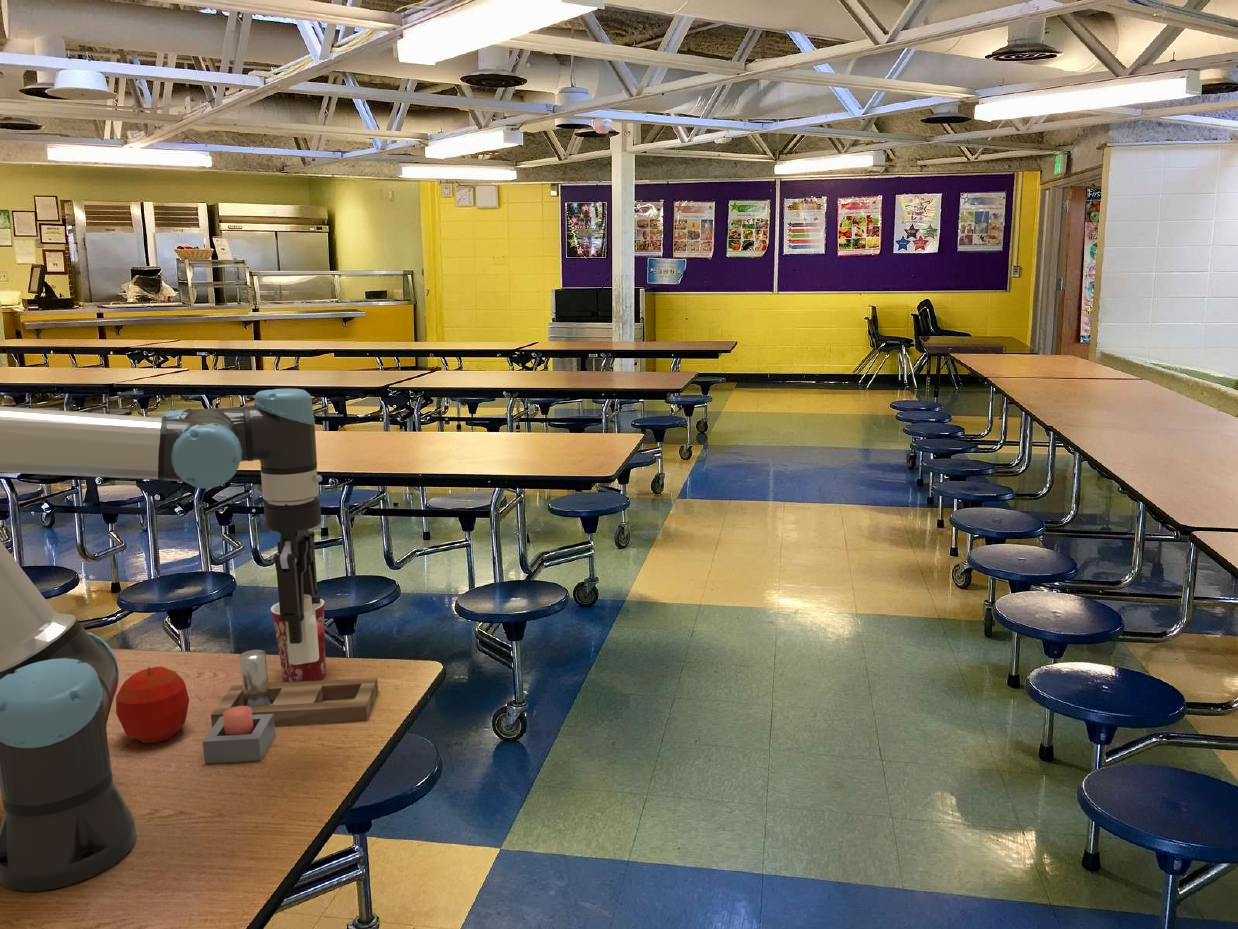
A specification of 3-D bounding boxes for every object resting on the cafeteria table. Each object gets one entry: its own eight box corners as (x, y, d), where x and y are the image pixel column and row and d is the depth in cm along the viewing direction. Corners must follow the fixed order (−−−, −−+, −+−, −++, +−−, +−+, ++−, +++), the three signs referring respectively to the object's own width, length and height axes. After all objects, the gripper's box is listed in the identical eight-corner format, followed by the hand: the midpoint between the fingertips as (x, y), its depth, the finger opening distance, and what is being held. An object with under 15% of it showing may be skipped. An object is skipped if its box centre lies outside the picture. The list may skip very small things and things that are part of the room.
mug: (269, 676, 169) (262, 604, 166) (318, 662, 175) (312, 593, 172) (297, 699, 159) (290, 623, 157) (347, 684, 165) (341, 610, 162)
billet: (267, 716, 153) (261, 658, 151) (241, 718, 153) (235, 660, 151) (273, 705, 157) (268, 649, 155) (249, 707, 157) (243, 650, 155)
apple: (167, 715, 154) (159, 649, 152) (206, 729, 149) (198, 661, 147) (107, 742, 146) (97, 672, 144) (146, 757, 141) (137, 685, 138)
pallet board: (367, 720, 151) (365, 706, 151) (212, 729, 149) (210, 714, 149) (378, 691, 162) (377, 677, 161) (234, 699, 160) (232, 685, 159)
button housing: (261, 760, 139) (258, 738, 139) (205, 763, 139) (202, 741, 138) (275, 734, 147) (273, 713, 146) (222, 737, 146) (220, 716, 146)
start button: (250, 748, 141) (247, 717, 140) (222, 750, 141) (219, 718, 140) (258, 735, 145) (254, 705, 144) (231, 737, 144) (227, 706, 143)
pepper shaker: (290, 667, 135) (285, 603, 133) (289, 657, 139) (284, 595, 137) (319, 662, 137) (315, 600, 135) (317, 652, 140) (313, 591, 139)
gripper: (304, 513, 125) (316, 679, 129) (332, 485, 142) (342, 632, 147) (245, 515, 124) (260, 681, 129) (280, 486, 142) (292, 634, 146)
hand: (303, 654), depth 138 cm, fingers closed on pepper shaker, 5 cm apart
